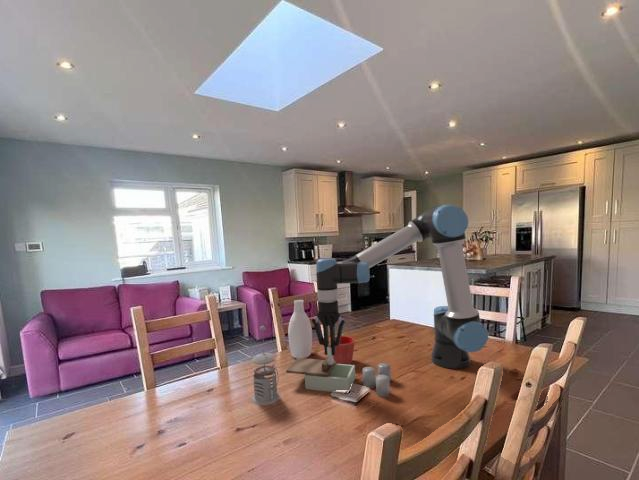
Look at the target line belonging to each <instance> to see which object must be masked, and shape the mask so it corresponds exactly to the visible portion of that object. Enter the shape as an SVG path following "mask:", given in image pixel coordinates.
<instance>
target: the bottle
mask: <svg viewBox="0 0 639 480" xmlns="http://www.w3.org/2000/svg"><path fill="white" fill-rule="evenodd" d="M304 302H305V301H304V300H303V299H297V300H296V299H295V300H293V304H294V305H293V313H292V315H291V317H290V319H289V323H288V328H287V329H288V331H287V333H288V334H287V335H288V345H289V350H290V355H291V357H292V358H295V359H297V358H306V359H307V358H308V357H310V356H311V354H312V348H313V347H312V344H313V329H312V328H313V327H312V324H311V321H310V318H309V316H308V314H307V313H306V312H305V307H304Z"/></svg>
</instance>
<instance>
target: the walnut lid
mask: <svg viewBox="0 0 639 480" xmlns="http://www.w3.org/2000/svg"><path fill="white" fill-rule="evenodd" d="M335 364H336V361H334V360H333V364H332V365H328V359H327V357H326V358H325V359H319V358H316V359H314V358H307V357H306V358H295V360H294V362H292V364H290V366H289V367H288V368H287V369H286V371H285V373H288V374H296V375H298V374H299V375H304V376H305V375H316V376H327V377H328V376H329V374H330V372H331V371H332V369H333V367H334V366H335Z"/></svg>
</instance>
